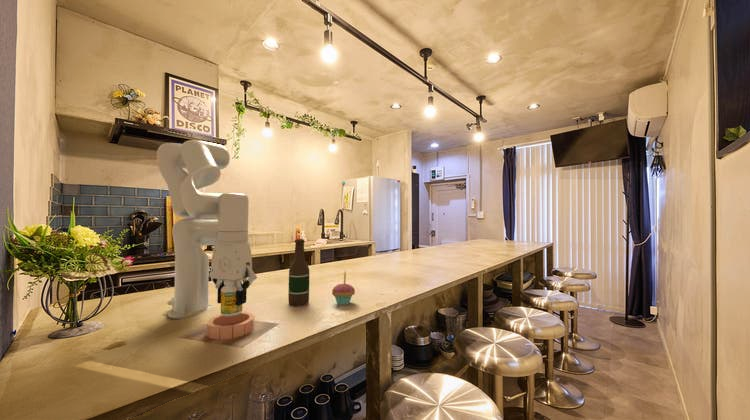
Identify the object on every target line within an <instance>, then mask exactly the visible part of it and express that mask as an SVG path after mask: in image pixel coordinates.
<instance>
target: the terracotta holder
mask: <svg viewBox="0 0 750 420" xmlns="http://www.w3.org/2000/svg"><path fill="white" fill-rule="evenodd" d="M254 321H255V315H254V314H253V313H252V312H249V311H248V312H247V311H242V312H241V313H240V314H238V315H234V316H223V315H221V314H218V315H216V316H213V317H211V318H210V319H209V320H208V321H207V322H206V324H207V336H208V337H209V338H212V339H220V340H221V339H231V338H236V337H239V336H242V335H245V334H247V333H249V332H250V331H252V330H253V328H254ZM237 323H238V324H237ZM229 324H235V325H229ZM225 325H227V326H225Z"/></svg>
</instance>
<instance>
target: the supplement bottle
mask: <svg viewBox="0 0 750 420" xmlns="http://www.w3.org/2000/svg"><path fill="white" fill-rule="evenodd" d="M224 285H225V286H224V287H222V289H221V303H220V315H223V316H234V315H238V314H240V313H241V312H243V304H241V305H239V306H238V305H236V291H238V286H237V282H236V281H232V280H224Z"/></svg>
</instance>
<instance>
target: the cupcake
mask: <svg viewBox="0 0 750 420" xmlns="http://www.w3.org/2000/svg"><path fill="white" fill-rule="evenodd" d="M346 278H347V271H346V269H345V270H344V273H343V283H339V284H337V285H335V286H334V287H333V288H332V290H331V291H332V292H331V294H332V296H333V297H334V298H335V301H336V304H338V305H339V306H346V305H349V304H350V303H351V299H352V297H353V295H355V294H356V293H355V291H356V290H355V287H353V286H352V285H351V284H347V283H346V281H347V279H346Z"/></svg>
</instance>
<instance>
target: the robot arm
mask: <svg viewBox="0 0 750 420" xmlns="http://www.w3.org/2000/svg"><path fill="white" fill-rule="evenodd" d="M229 153H230V152H229V151H228V149H227V148H226V147H225V146H224V145H222V144H217V143H212V142H210V141H209V142H208V141H202V140H197V139H190V140H186V141H184V142H183V143H177V142H176V143H175V142H165V143H163V144H160V145H159V146H158V149H157V151H156V163H157V168H158V169H159V172H160V174H161V177H162V178H163V180H164V181H165V183H166V185H167V189H168V194H169V199H170V204H171V209H172V210H173V213H174V215H175V216H176V217H178V218H180V219H179V220H177V221H175V223H174V224H173V226H172V228H171V230H172V231H171V233H172V239H173V240H172V241H173V245H174V294H173V295H174V297H172V298H171V300H168V301H167V305H168V306H171V309H170V310H169V311H168V312H167V316H168V318H170V319H174V320H181V319H183V318H186V317H188V316H192V315H193V316H194V315H197V314H198V315H199V314H201V313H205V312H208V311H210V310H211V309H212V308H214V305H213V304H211V303H209V286H210V285H209V282H210V281H209V280H210V279H211V280H212V282H213V283H214V285H215V288H216V289H217V300H216V301H217V304H221V289H222V287H224V286H225V285H224V280H232V281H236V282H237V286H238V291H236V305H238V306H239V305H241V304H242V305H243V304H246V303H247V289H249V287H250V286H251V285H252V284H253V282H254V281H256V280H257V278H258V276H257V274H255V272H254V271H253V260H252V259H253V257H252V250H251V243H250V242H249V203H250V202H249V197H248V195H247V194H245V193H236V192H224V193H220V192H206V191H204V192H203V191H199V189H203V188H205V187H209V186H211V185H214V184H215V183H216V182H218V181H219V180H220V178H221V176H222V175H221V173H222V172H221V170H224V169H225V168H227V167H228V165H229V163H230V158H231V157H230V154H229ZM184 169H186V170H187V171H186V170H184ZM205 246H214V247H213V251H212V254H211V255H212V256H211V263H210V260H209V255H208V254H207V253H206V252H205V251H204V249H202V247H205ZM210 264H211V265H210ZM209 266H211V267H209ZM209 271H210V272H209ZM209 278H210V279H209Z"/></svg>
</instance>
